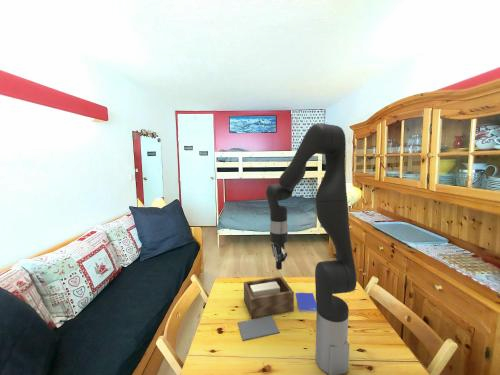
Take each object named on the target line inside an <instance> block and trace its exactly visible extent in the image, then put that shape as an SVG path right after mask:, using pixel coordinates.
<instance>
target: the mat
mask: <svg viewBox="0 0 500 375" xmlns="http://www.w3.org/2000/svg"><path fill="white" fill-rule="evenodd" d="M237 325H238V328H239V333H240V336H241V337H240V338H241V340H242V342H245V341H249V340H254V339H255V340H256V339H260V338H264V337H269V336H273V335H276V334H280V333H281V332H280V330H279V327H278V325H277V324H276V322H275V320H274V318H273V315H271V316H266V317H261V318H256V319H248V320H244V321H238V322H237Z"/></svg>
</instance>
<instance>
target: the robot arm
mask: <svg viewBox="0 0 500 375" xmlns="http://www.w3.org/2000/svg"><path fill="white" fill-rule="evenodd" d="M345 134H346V133H345V131H344V130H343V128H342V127H340V126H338V125H334V124H328V123H321V122H320V123H319V122H318V123H315V124H312V125H311V126H310V127H309V128H308V129H307V131H306V133H305V135H304V136H303V139H302V140H301V142H300V144H299V147H298V148H297V150H296V152H295V154H294V155H293V158H292V159H291V162H290V163H289V164H288V166H287V167H286V168H285V170H284V171H283V172H282V174H280V177H279V178H278V183H271V184H269V185H268V186H267V187H266V191H265V197H266V199H267V203H268V206H269V211H270V212H269V213H270V215H269V216H270V220H269V221H270V222H269V241H270V242H271V244H270V245H271V251H272V255H273V257H274V259H275V269H276V270H278V271H279V270H282V269H283V267H282V266H283V263H284V262H285V261H286V259H287V256H288V252H285V249H286V248H285V244H286V243H287V242H288V236H289V235H288V232H289V230H288V228H289V227H288V209H287V207H286V206H284V205H280V204H279V201H286V200H288V199H290V198H291V196H292V195H293V193H294V190H295V188H296V186H297V185H298V184H299V183H300V182H301V181H302V180H303V179H304V177H305V175H306V172H307V164H308V161H310V159H311V158H312V157H314V155H316V154H317V155H324V157H325V158H324V159H325V171H324V176H323V177H322V180H321V182H320V184H319V186H318V188H317V191H316V194H315V207H316V208H315V209H316V218H317V221H318V222H319V225H321V227H322V229H324V231H325V233H326V234H327V235H328V237H329V238H330V239H331V241H332V243H333V246H334V248H335V253H336V254H335V255H336V260H334V259H333V260H324V261H318V263H316V265H315V268H314V269H315V270H314V277H315V279H314V280H315V281H314V282H315V301H316V304H317V313H316V314H315V315H316V320H315V322H316V323H315V363H316V365H317V366H318V367H319V369H320V370H321V371H323V372H324V373H326V374H328V375H343V374H348V373H349V359H350V343H349V341H348V337H349V336H348V334H349V313H350V311H349V310H350V309H349V305H348V304H347V302H346V301H345V300H344V299H343V298H341V297H339V296H336V295H337V294H346V293H351V292H354V291H355V290H356V287H357V272H356V265H355V260H354V259H355V258H354V254H353V248H352V241H351V233H350V230H351V229H350V221H349V220H350V218H349V216H350V215H349V205H348V204H349V203H348V194H347V181H346V180H347V178H346V150H347V149H346V147H347V146H346V145H347V144H346V135H345Z"/></svg>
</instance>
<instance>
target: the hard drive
mask: <svg viewBox="0 0 500 375" xmlns="http://www.w3.org/2000/svg"><path fill="white" fill-rule="evenodd" d="M295 299H296V303H297V308H298V313H316V314H317V304H316V297H315V295H314V293H312V292H295Z"/></svg>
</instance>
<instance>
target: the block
mask: <svg viewBox="0 0 500 375" xmlns="http://www.w3.org/2000/svg"><path fill="white" fill-rule="evenodd" d="M250 291H251V293H252V296H253V297H258V296H264V295H270V294H275V293H280V287H279V285H278V284H277V282H276V281H275V282H269V283H263V284H256V285H250Z"/></svg>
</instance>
